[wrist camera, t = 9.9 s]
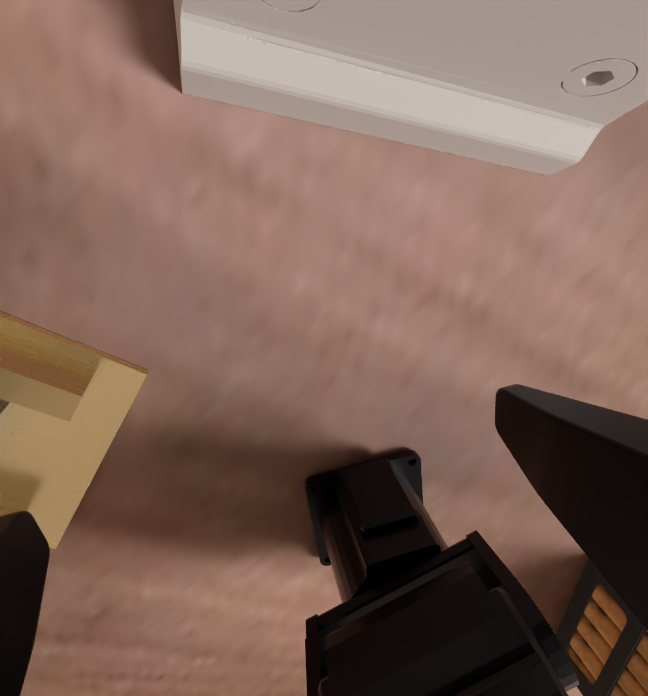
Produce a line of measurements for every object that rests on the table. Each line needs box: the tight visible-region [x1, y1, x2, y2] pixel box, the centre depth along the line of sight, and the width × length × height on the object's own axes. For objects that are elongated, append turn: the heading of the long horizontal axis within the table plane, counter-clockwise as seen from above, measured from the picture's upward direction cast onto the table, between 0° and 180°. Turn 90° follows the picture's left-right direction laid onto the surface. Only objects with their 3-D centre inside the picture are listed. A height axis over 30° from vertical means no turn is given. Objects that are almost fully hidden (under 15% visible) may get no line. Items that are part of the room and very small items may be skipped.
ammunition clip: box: [555, 558, 648, 696], centre depth 30 cm, size 11×2×12 cm, turn 174°
